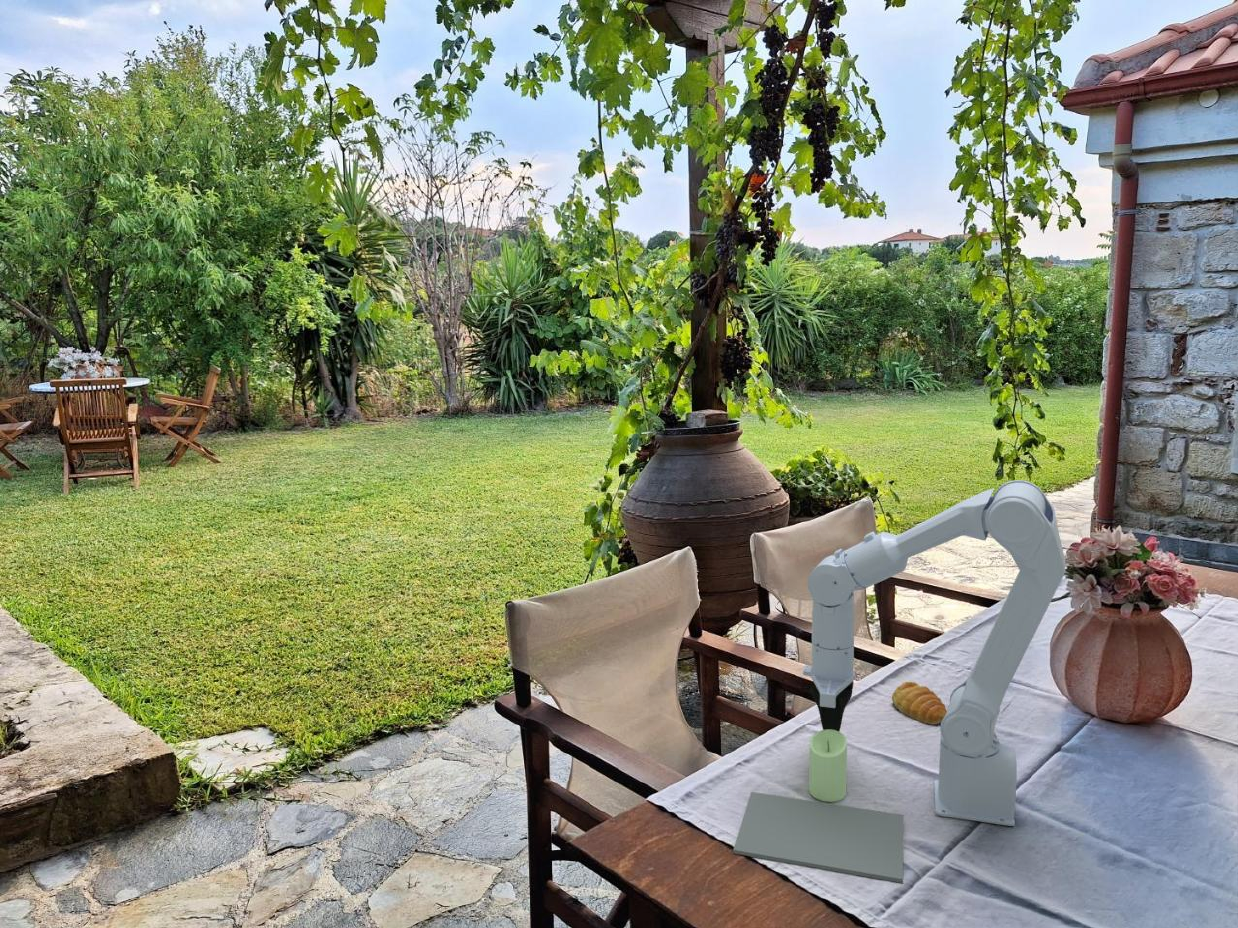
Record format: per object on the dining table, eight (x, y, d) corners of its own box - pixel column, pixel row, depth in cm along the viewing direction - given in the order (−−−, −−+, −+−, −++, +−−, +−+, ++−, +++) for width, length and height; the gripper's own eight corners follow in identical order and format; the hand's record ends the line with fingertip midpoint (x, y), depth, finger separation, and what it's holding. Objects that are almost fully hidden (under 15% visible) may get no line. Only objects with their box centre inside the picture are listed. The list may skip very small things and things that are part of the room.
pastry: (959, 722, 136) (959, 700, 135) (924, 731, 134) (925, 708, 133) (919, 697, 145) (920, 676, 144) (886, 705, 143) (886, 684, 142)
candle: (837, 806, 115) (838, 751, 113) (803, 794, 118) (803, 740, 116) (851, 788, 119) (853, 734, 117) (818, 777, 122) (818, 724, 120)
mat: (903, 817, 112) (903, 814, 112) (902, 882, 100) (902, 879, 100) (751, 794, 118) (751, 791, 118) (733, 853, 106) (733, 849, 106)
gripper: (809, 619, 127) (808, 704, 130) (797, 659, 114) (796, 752, 116) (858, 624, 125) (856, 709, 128) (852, 665, 112) (850, 760, 114)
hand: (831, 730), depth 122 cm, fingers closed
